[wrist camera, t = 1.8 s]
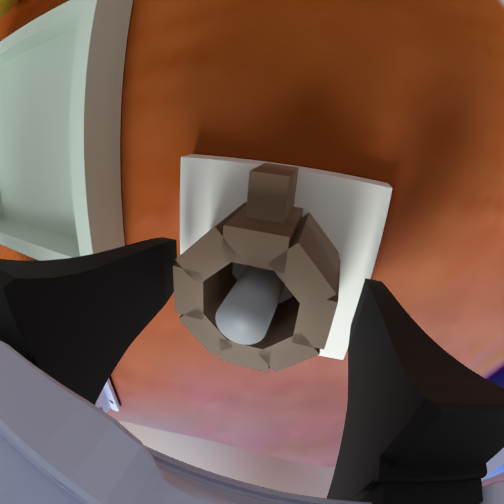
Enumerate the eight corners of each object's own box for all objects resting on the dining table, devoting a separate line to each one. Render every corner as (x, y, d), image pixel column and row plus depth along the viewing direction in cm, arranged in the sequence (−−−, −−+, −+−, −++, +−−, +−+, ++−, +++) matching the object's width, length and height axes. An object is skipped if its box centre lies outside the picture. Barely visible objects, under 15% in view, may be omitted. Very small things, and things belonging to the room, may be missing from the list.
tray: (126, 261, 16) (97, 282, 13) (6, 225, 19) (-16, 236, 16) (133, -1, 10) (99, -14, 7) (1, 58, 13) (-24, 59, 10)
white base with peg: (344, 346, 14) (336, 425, 10) (191, 310, 16) (144, 371, 11) (388, 183, 10) (417, 220, 6) (192, 153, 12) (118, 174, 8)
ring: (321, 332, 13) (313, 382, 10) (207, 306, 14) (178, 346, 11) (356, 177, 10) (362, 197, 7) (212, 156, 11) (171, 169, 8)
